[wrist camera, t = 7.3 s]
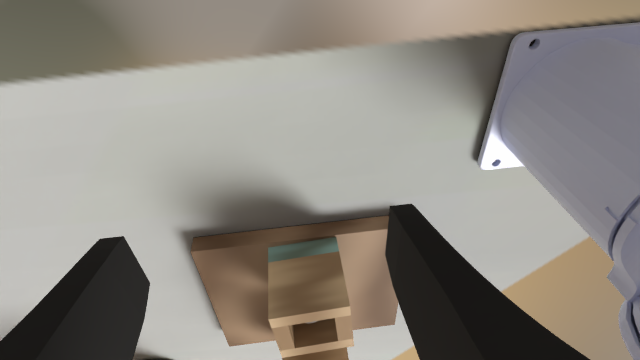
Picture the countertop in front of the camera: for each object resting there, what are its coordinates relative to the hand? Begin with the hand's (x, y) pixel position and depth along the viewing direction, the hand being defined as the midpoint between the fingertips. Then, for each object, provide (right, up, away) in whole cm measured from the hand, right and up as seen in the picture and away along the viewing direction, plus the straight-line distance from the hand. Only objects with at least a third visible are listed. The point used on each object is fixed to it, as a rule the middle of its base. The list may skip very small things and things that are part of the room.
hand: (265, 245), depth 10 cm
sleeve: (+1, -4, +14) cm, 15 cm away
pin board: (+1, -6, +17) cm, 18 cm away
